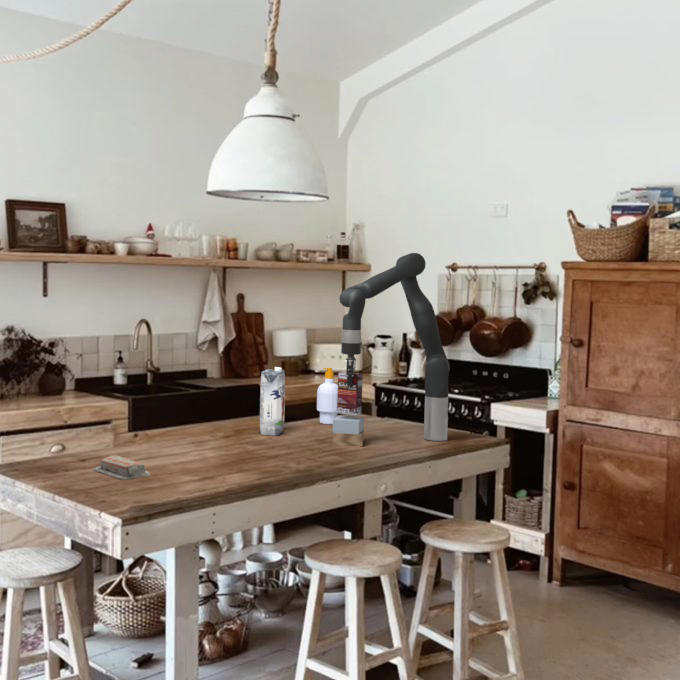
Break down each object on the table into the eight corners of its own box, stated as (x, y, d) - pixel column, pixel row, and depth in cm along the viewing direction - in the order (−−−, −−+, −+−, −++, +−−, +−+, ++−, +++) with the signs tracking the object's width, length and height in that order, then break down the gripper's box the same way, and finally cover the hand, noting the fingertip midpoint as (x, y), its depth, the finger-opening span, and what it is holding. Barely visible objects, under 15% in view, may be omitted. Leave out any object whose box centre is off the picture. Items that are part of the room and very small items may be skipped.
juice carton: (258, 435, 349) (259, 368, 347) (263, 430, 360) (265, 365, 358) (280, 436, 348) (281, 368, 346) (285, 431, 359) (286, 366, 356)
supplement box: (336, 413, 337) (337, 372, 336) (342, 411, 341) (343, 371, 340) (356, 415, 333) (357, 374, 332) (362, 414, 337) (363, 372, 336)
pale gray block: (363, 430, 341) (364, 417, 341) (358, 434, 331) (358, 421, 331) (338, 428, 343) (338, 415, 343) (332, 432, 333) (332, 419, 333)
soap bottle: (311, 422, 383) (312, 367, 381) (330, 420, 389) (331, 366, 388) (326, 426, 375) (327, 369, 373) (344, 423, 381) (346, 368, 380)
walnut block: (363, 442, 343) (363, 429, 342) (362, 447, 332) (362, 434, 331) (335, 441, 344) (335, 428, 343) (333, 446, 333) (333, 433, 332)
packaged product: (151, 461, 276) (123, 466, 269) (150, 477, 277) (123, 481, 270) (120, 452, 289) (92, 456, 282) (119, 467, 289) (92, 471, 282)
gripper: (360, 343, 327) (359, 388, 329) (361, 340, 342) (360, 383, 343) (340, 342, 328) (339, 387, 329) (342, 339, 342) (341, 382, 343)
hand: (350, 385), depth 336 cm, fingers closed on supplement box, 6 cm apart
